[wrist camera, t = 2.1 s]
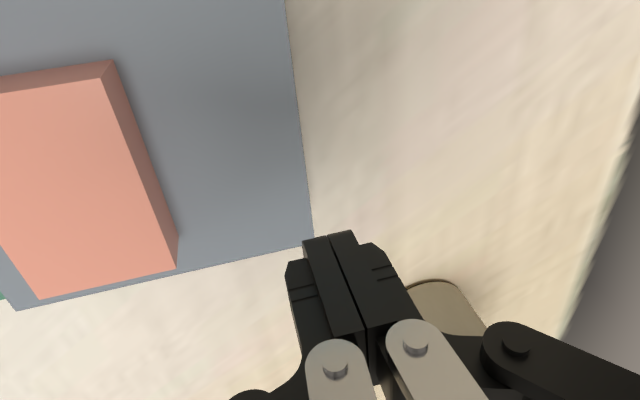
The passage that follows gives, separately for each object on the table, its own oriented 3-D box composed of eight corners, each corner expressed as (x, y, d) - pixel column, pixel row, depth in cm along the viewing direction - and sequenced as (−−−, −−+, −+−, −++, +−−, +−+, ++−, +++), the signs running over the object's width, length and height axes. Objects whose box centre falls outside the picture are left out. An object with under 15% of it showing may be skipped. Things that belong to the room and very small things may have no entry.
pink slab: (-57, 84, 15) (-97, 108, 13) (112, 59, 16) (100, 78, 14) (55, 262, 20) (39, 300, 18) (178, 236, 21) (176, 268, 19)
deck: (-126, 6, 16) (-206, 24, 13) (265, -43, 19) (279, -37, 16) (40, 260, 24) (16, 311, 21) (301, 204, 27) (315, 242, 24)
